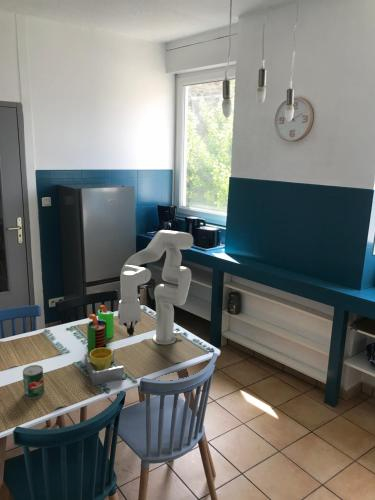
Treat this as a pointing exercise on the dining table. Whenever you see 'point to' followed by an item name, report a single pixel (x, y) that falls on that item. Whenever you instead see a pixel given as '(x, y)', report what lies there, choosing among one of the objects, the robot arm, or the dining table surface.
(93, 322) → the motor
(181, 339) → the dining table surface
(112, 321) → the green-shelled ribbed roller
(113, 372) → the grey open box
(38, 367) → the canned tomato
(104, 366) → the plant pot
